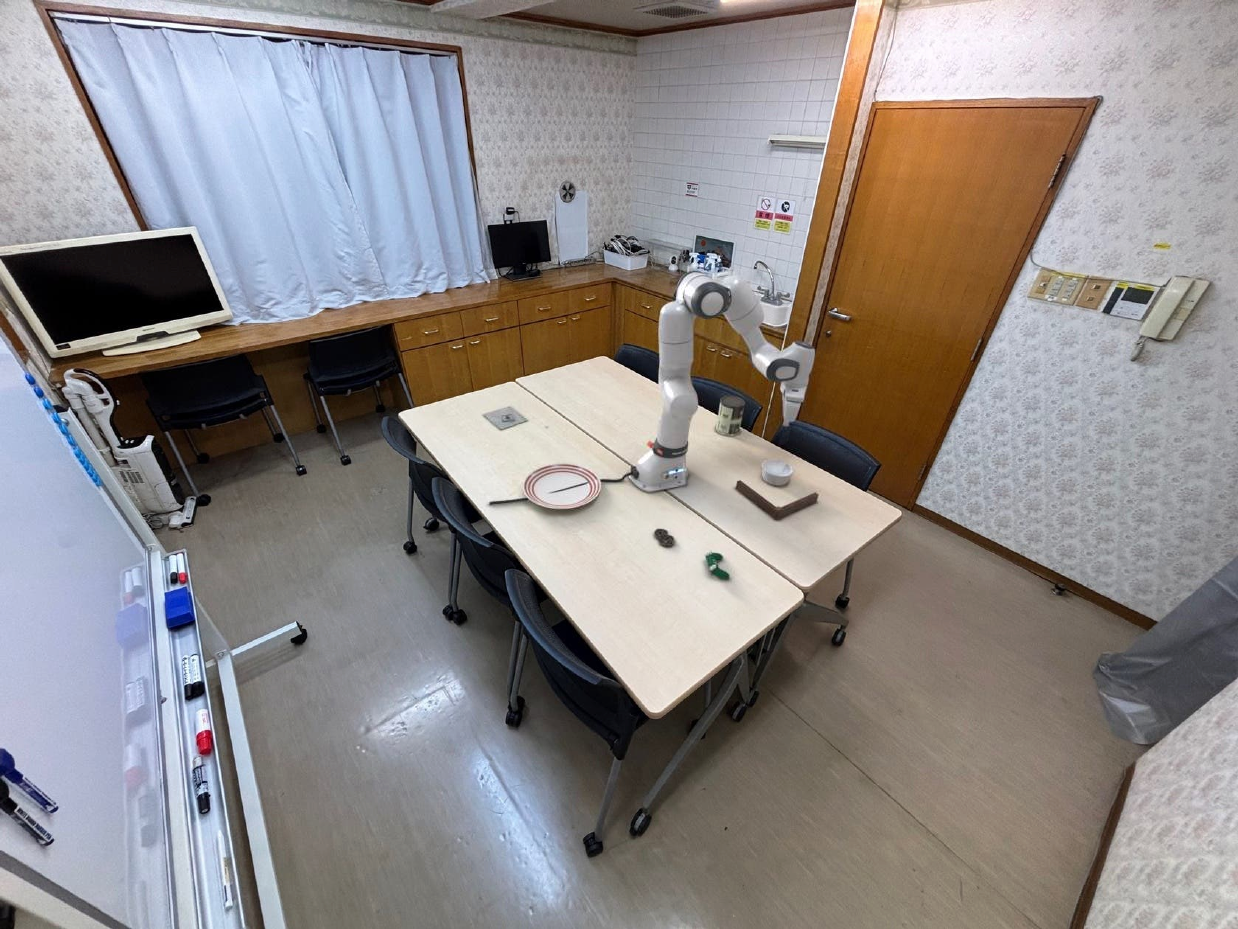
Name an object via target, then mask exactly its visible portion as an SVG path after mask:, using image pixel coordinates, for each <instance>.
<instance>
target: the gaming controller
mask: <svg viewBox="0 0 1238 929" xmlns="http://www.w3.org/2000/svg"><path fill="white" fill-rule="evenodd" d="M704 557H705V560H706V563H707V566H708V569H709V570H708V571H709V572H710V573H711V574H712V575H713V576H715V577H717V578H721V579H727V580H728V579H729V578H730V573H728V572H727V571H725V570H724V569H722V568H720V567H719V564H718V562H720V561H722V560H723V559H724V556H723V554H722V553H720V552H712V550H709V551H707V552H705V553H704Z"/></svg>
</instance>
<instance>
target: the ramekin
mask: <svg viewBox="0 0 1238 929" xmlns="http://www.w3.org/2000/svg"><path fill="white" fill-rule="evenodd" d="M793 474H794V469H793V467H792V465H791V464H790V463H788V462H786V461H784V460H781V459H776V458H775V459H774V458H771V459H766V460H764V461H763V462H762V464H761V477H762V479H763V481H765V482H766V483H767V484H769V485H772V486H776V487H777V486H784V485H786V484H787V483H788V482H789V480H790V478H791V477H792V476H793Z"/></svg>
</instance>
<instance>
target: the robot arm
mask: <svg viewBox="0 0 1238 929" xmlns="http://www.w3.org/2000/svg"><path fill="white" fill-rule="evenodd" d="M672 298H673V299H672V300H673V301H670V302H667V303H666V304H664V305H663V306H662V308H661V309H660V312H659V318H658V335H657V336H658V354H659V355H658V357H659V367H658V391H659V393H660V396H661V398H662V411H661V415H660V417H659V419H658V423H657V436H656V438H655V439H654V442H652V440H648V441H647V443H646V446H647V447H649V448H650V450H648V452H645V454H644V455H642V456H641V457H640V458H639V459H638V460H637V462H636V463H635V464H636V465H635V466H630V470H629V472H627V473H625V474H623V475H622V477H621V478H618V479H609V478H599V479H600V481H601V483H620V482H623V481H624V480H625V479H626V478H627V477H628V478H629V480H630V481H631V482H632V484H633V485H635V486H636V487H637V488H638V489H640V490H641V491H644V492H646V493H653V492H659V491H664V490H669V489H674V488H679V487H684V486H685V485H686V480H687V478H688V474H689V473H688V468H687V453H688V451H689V450H688V449H689V440H688V439H689V432H690V426H691V422H692V419H693V416H694V415H695V414H696V413H697V411H698V408H699V399H698V398H699V397H698V394H697V392H696V389H695V388H694V386H693V382H692V378H691V370H692V365H693V362H694V356H695V355H694V350H695V349H694V325H695V321H696V318H697V317H698V318H700V319H703V320H713V319H715V318H717V317H719V316H720V315H722V314H723V316H724V317H725V319H726V321H727V322H728V324H729V325H730V326H731V327H732V329H733V330H734V331H735V332H736V333H737V334H738V335H740V336H741V338H742V340H743V341H744V342H745V345H746V347H747V349H748V356H749V362H750V364H751V366H752V367H753V368H754V369H756V370H757V371H758V372H759V373H761V375H763V376H764V377H765V378H766V379H767V380H768V381H769V382H771V383H780V387H779V390H780V392H781V393H782V399H781V400H782V413H781V415H782V417H783V421H782V426H783V427H788V426H789V424H790V423H794V422H795V421H796V419H797V417H798V414H799V411H800V407H801V405H802V403H804V401H805V395H806V392H807V388H808V385H809V381H810V379H809V376H810V374H811V372H812V370H813V366H814V361H815V358H816V349H815V348H814V347H813V346H812V345H811V344H809V343H807V342H806V341H801V340H794V341H793V342H792V343H791V345H789V346H787V347H786V348H784V349H782V350H780V349H778V347H776V346H775V344H774V343H772V342H770V341H768V340H767V339H766V338H765V336H764V334H763V332H762V330H761V329H760V326H761V325H762V324H763V322H764V320H765V312H764V310H763V306H762V304H761V301H759V298H758V296H757V295H756V293H755V292H754V290H753V289H752V287H751V286H750V284H748V283H747V282H746V280H745V279H744V278H743V277H742V276H740V275H737V274H731V275H728V276H726V277H724V278H723V279H722V280H720V281H716V280H715V279H714V278H712V277H711V276H710V275H707V274H705V273H704V272H702V271H701V270H700V271H698V270H690V271H688V272H687V271H686V272H685V273H684V274H682V276H681V277H680V278H679V280H678V282H677V285H676V289H675V290H674V293H673V294H672ZM587 483H589V482H586V483H582V484H579V485H575V486H571V487H568V488H565V489H561V490H557V491H554V492H550V493H555V492H559V491H564V490H567V489H571V488H574V487H578V486H582V485H585V484H587ZM547 494H548V493H547ZM525 501H530V500H529V499H528V498H527V497H521V498H514V499H505V500H492V501H489V505H499V504H511V503H519V502H525Z"/></svg>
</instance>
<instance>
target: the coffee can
mask: <svg viewBox="0 0 1238 929" xmlns="http://www.w3.org/2000/svg"><path fill="white" fill-rule="evenodd" d="M745 405H746V401H745V400H744V399H743V398H742V397H740V396H735V395H724V396H722V397H720V400H719V408H718V414H717V420H716V427H715V430H716V432H717V433H718V434H720V435H723V436H727V437H729V436H730V437H731V436H732V437H733V436H737V435H738V434H739V433H740V430H741V424H742V420H743V414H744V409H745Z"/></svg>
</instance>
